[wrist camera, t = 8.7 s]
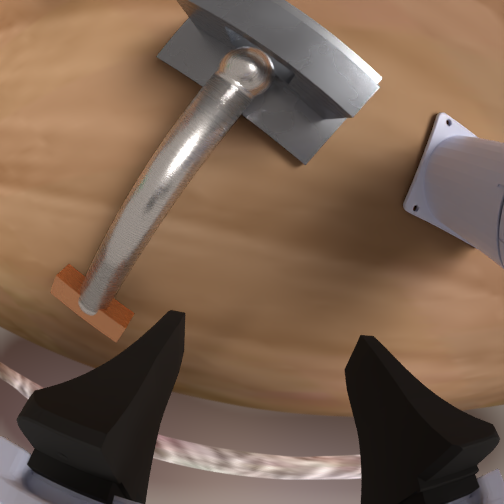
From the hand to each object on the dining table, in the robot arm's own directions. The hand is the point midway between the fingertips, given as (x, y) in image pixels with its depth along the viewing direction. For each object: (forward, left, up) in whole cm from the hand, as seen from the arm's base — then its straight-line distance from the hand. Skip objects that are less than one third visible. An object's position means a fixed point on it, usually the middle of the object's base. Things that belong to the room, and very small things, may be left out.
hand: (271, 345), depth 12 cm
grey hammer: (+7, -3, -10) cm, 13 cm away
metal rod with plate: (+8, -2, -8) cm, 11 cm away
